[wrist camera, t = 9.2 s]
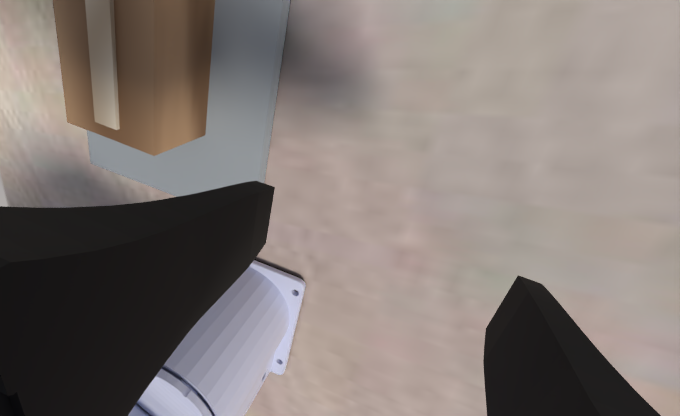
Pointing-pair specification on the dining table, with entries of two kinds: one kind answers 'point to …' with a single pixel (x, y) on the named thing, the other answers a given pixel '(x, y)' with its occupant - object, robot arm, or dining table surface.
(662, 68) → the dining table surface
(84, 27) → the taped cardboard box
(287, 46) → the dining table surface
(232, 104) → the rubber mat
